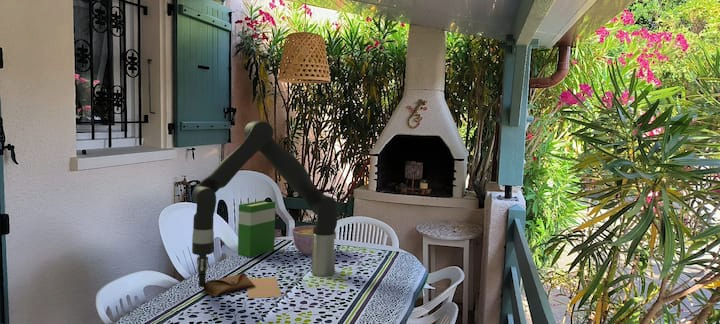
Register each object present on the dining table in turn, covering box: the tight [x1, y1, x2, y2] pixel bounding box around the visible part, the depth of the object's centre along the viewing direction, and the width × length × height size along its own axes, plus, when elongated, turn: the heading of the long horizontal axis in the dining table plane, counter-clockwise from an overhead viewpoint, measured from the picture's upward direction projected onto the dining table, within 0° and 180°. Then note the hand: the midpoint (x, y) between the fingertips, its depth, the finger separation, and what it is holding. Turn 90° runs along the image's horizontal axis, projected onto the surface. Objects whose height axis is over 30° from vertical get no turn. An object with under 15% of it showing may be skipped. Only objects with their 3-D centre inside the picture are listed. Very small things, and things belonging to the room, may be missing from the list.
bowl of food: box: [291, 225, 315, 256], centre depth 239 cm, size 20×20×12 cm
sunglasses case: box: [203, 272, 255, 297], centre depth 185 cm, size 18×7×7 cm
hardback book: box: [237, 200, 276, 258], centre depth 237 cm, size 18×7×24 cm, turn 150°
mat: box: [246, 277, 283, 300], centre depth 188 cm, size 12×22×1 cm, turn 15°
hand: (202, 286), depth 182 cm, fingers closed
